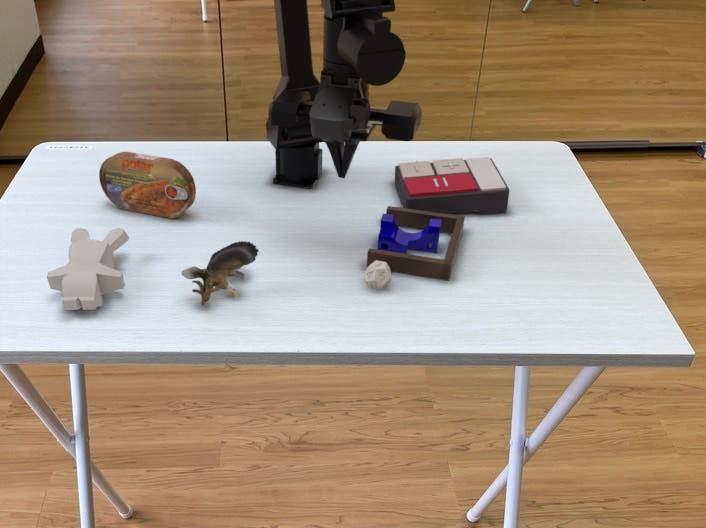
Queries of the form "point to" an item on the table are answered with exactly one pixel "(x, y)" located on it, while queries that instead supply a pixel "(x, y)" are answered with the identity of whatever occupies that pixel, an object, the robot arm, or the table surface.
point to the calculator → (452, 186)
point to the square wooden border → (421, 263)
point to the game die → (378, 274)
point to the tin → (147, 184)
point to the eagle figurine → (222, 269)
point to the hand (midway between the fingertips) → (342, 176)
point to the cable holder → (408, 237)
